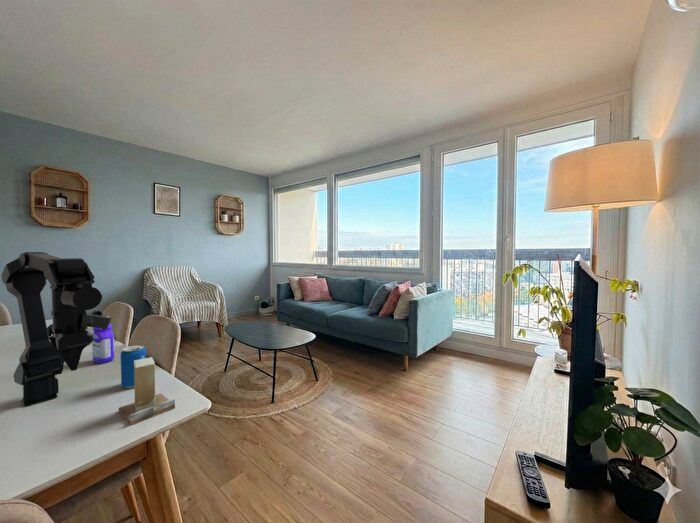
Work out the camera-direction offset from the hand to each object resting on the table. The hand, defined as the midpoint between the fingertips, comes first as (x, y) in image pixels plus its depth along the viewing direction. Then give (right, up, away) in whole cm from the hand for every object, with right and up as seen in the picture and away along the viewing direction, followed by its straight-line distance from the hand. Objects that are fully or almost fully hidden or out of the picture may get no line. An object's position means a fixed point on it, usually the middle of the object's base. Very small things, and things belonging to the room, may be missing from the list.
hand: (70, 365), depth 75 cm
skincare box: (+18, -12, +3) cm, 22 cm away
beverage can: (+4, -13, +17) cm, 22 cm away
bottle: (-23, -12, +37) cm, 45 cm away
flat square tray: (+18, -13, +3) cm, 23 cm away
